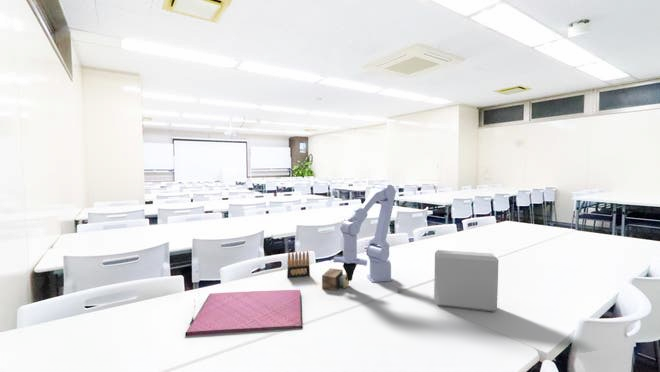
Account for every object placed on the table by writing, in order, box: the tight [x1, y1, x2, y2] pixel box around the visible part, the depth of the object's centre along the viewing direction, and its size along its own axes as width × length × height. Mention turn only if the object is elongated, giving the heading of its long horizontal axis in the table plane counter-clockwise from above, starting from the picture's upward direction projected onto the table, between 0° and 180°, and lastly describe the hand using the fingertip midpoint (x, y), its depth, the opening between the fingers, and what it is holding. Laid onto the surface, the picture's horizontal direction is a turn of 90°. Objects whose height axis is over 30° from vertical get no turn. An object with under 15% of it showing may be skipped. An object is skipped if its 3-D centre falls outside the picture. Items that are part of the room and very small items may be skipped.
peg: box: [339, 273, 350, 289], centre depth 132 cm, size 8×5×5 cm, turn 70°
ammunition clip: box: [286, 250, 311, 279], centre depth 144 cm, size 11×2×12 cm, turn 103°
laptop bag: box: [184, 289, 304, 337], centre depth 109 cm, size 40×4×27 cm
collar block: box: [321, 268, 344, 291], centre depth 133 cm, size 6×10×6 cm, turn 160°
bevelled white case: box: [433, 249, 499, 312], centre depth 113 cm, size 21×8×20 cm, turn 74°
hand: (350, 280), depth 130 cm, fingers closed
